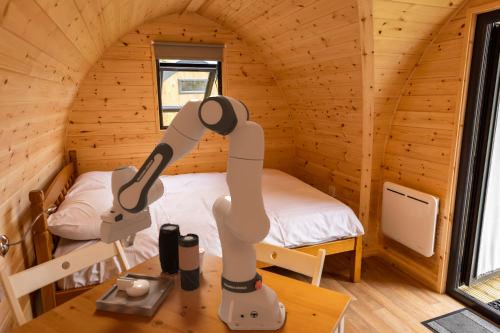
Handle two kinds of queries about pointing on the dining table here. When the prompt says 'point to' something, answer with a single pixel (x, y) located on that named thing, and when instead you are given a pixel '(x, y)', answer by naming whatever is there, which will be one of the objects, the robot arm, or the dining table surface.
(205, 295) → the dining table surface
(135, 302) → the panel
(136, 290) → the beige rounded piece
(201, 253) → the smoothie
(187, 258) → the travel mug
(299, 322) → the dining table surface
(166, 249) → the portable speaker
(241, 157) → the robot arm
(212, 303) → the dining table surface
